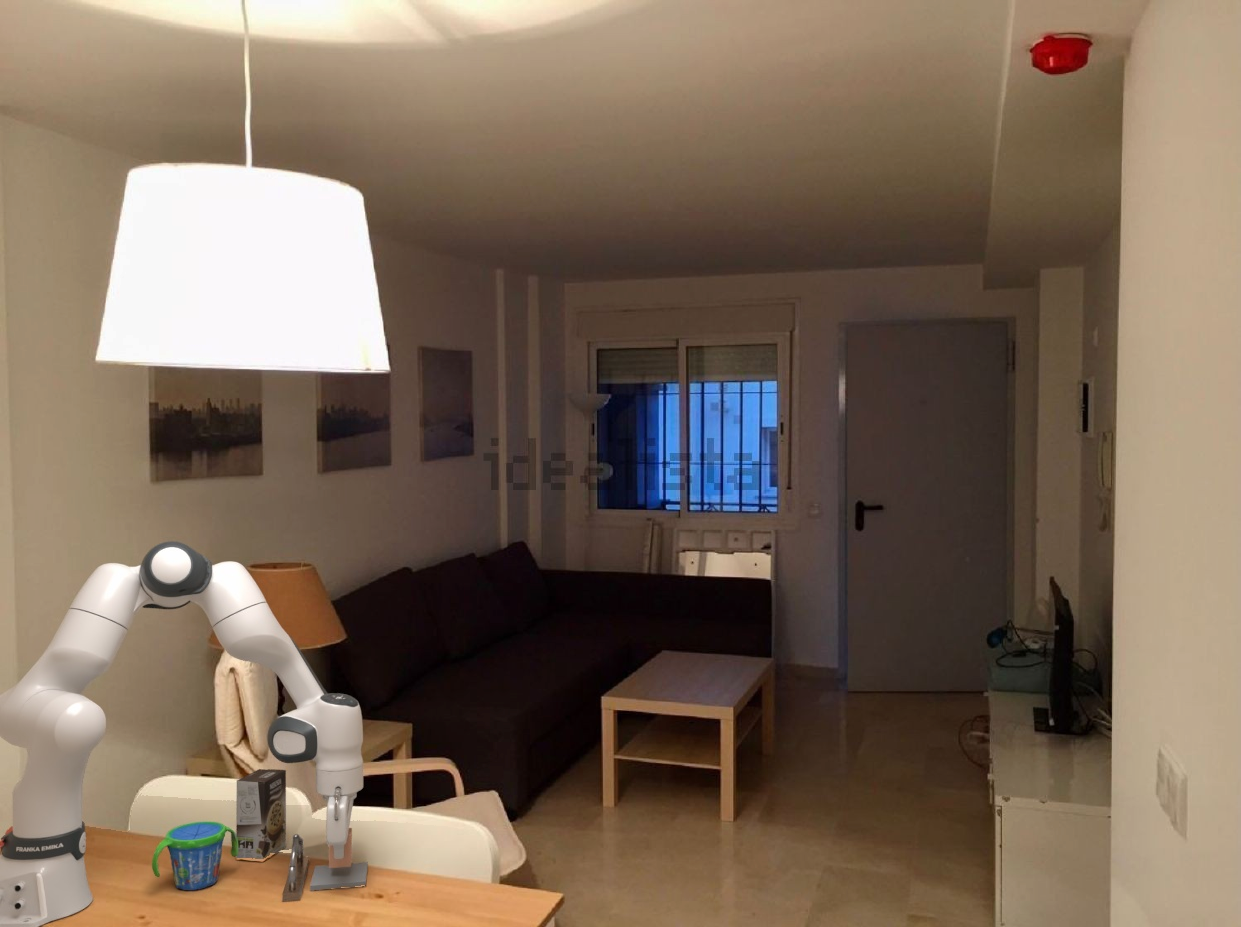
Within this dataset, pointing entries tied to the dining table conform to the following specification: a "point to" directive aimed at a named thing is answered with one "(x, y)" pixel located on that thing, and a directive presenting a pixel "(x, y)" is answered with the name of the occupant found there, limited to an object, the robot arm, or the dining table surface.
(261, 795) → the coffee box
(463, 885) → the dining table surface
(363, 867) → the mat
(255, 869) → the dining table surface
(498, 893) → the dining table surface
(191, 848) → the snack cup
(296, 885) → the metal door handle
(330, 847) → the block
